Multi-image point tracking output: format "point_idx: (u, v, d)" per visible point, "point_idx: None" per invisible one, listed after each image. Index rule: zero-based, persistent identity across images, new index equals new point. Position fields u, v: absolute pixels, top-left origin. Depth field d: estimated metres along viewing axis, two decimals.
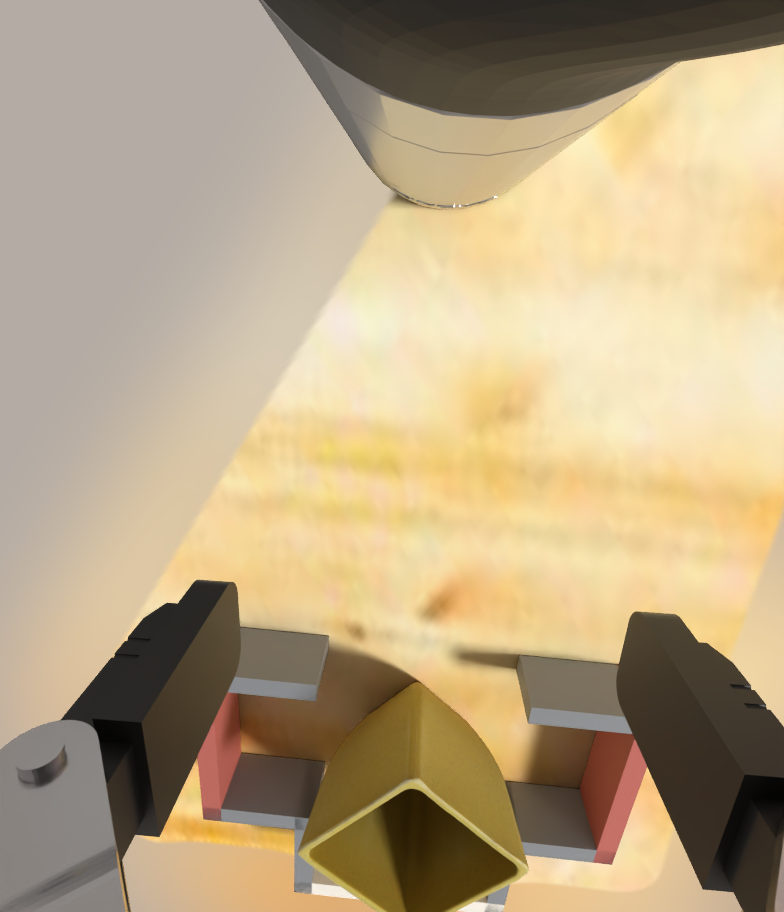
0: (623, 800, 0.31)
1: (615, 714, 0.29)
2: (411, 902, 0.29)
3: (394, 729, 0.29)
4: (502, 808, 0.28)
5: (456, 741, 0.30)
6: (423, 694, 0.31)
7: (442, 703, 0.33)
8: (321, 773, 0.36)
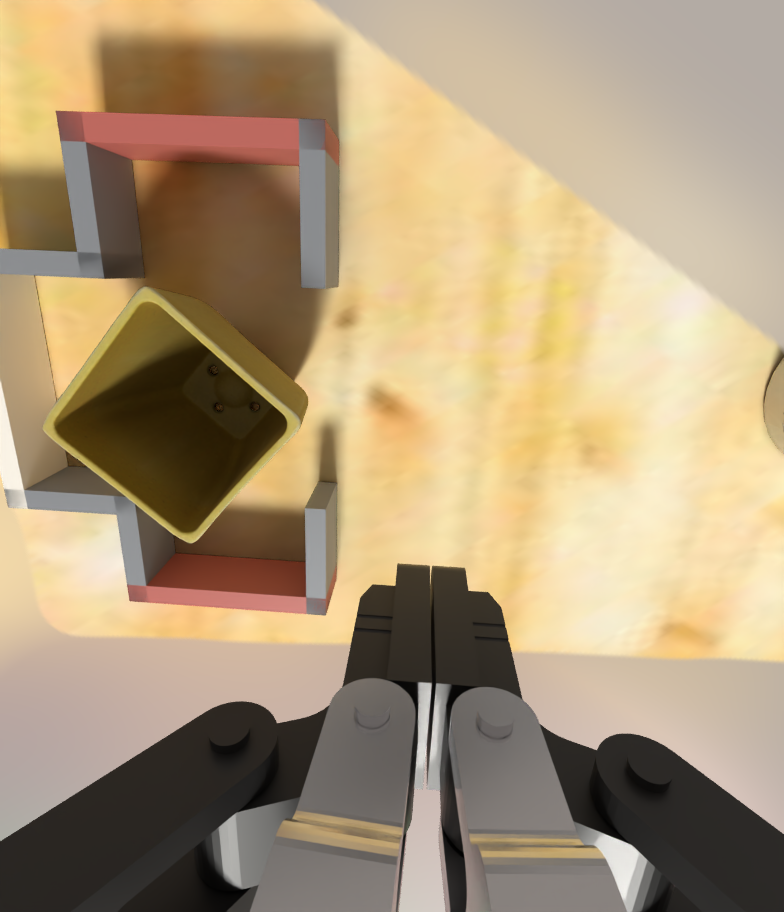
0: (221, 599, 0.32)
1: (325, 578, 0.31)
2: (71, 421, 0.25)
3: (287, 381, 0.26)
4: None
5: None
6: None
7: None
8: (135, 276, 0.29)
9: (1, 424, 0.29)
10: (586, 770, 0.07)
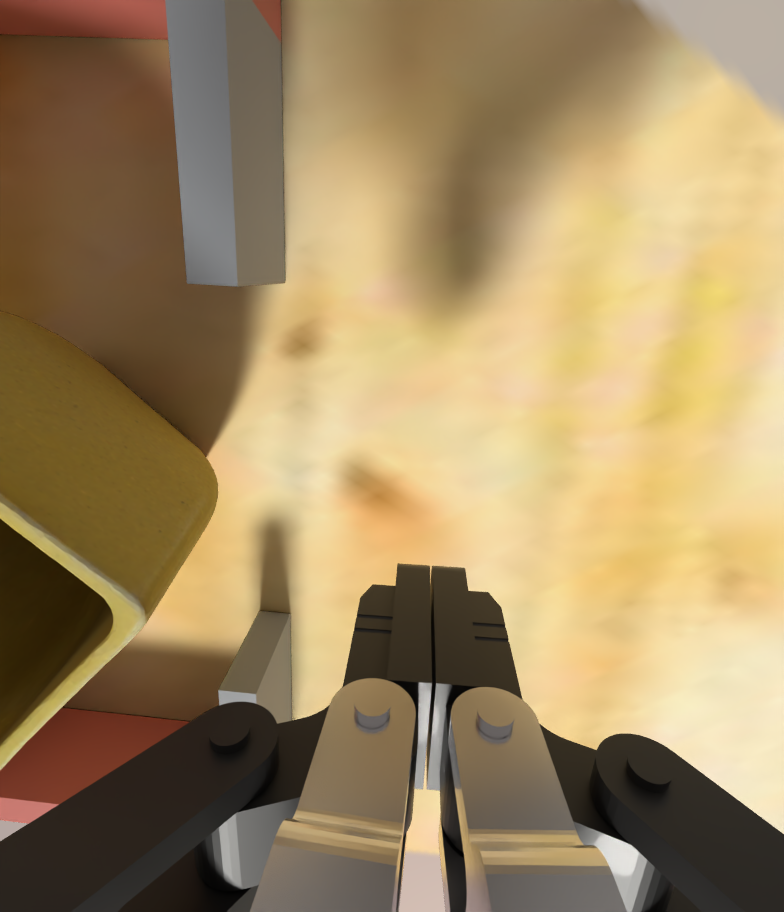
0: None
1: None
2: None
3: (163, 476, 0.13)
4: None
5: None
6: None
7: None
8: None
9: None
10: (586, 770, 0.07)
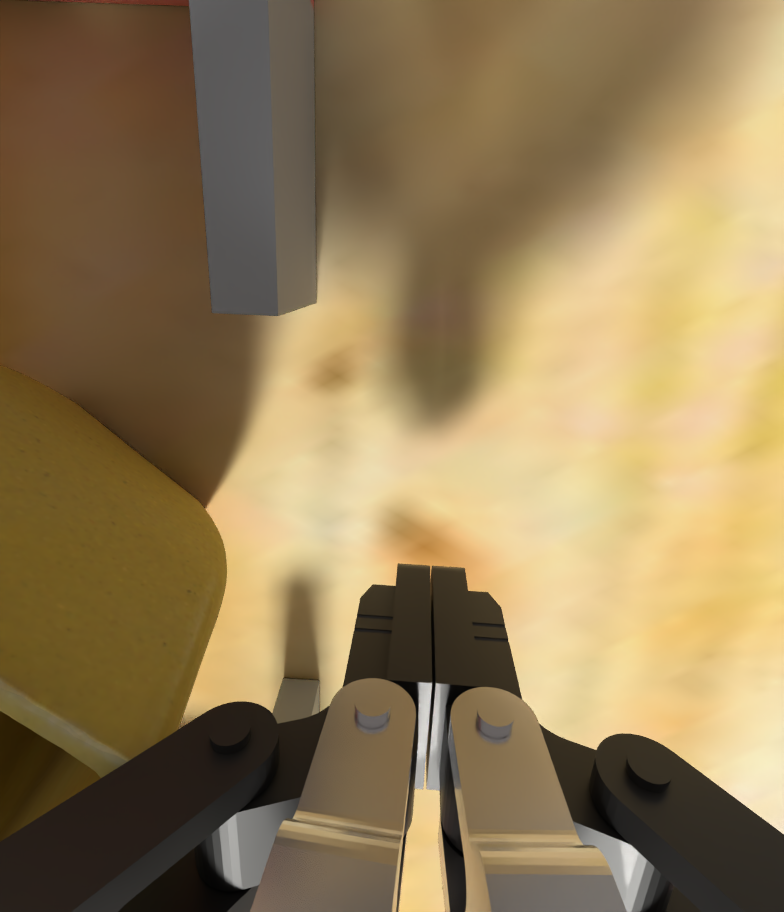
0: None
1: None
2: None
3: (163, 557, 0.10)
4: None
5: None
6: None
7: None
8: None
9: None
10: (586, 770, 0.07)
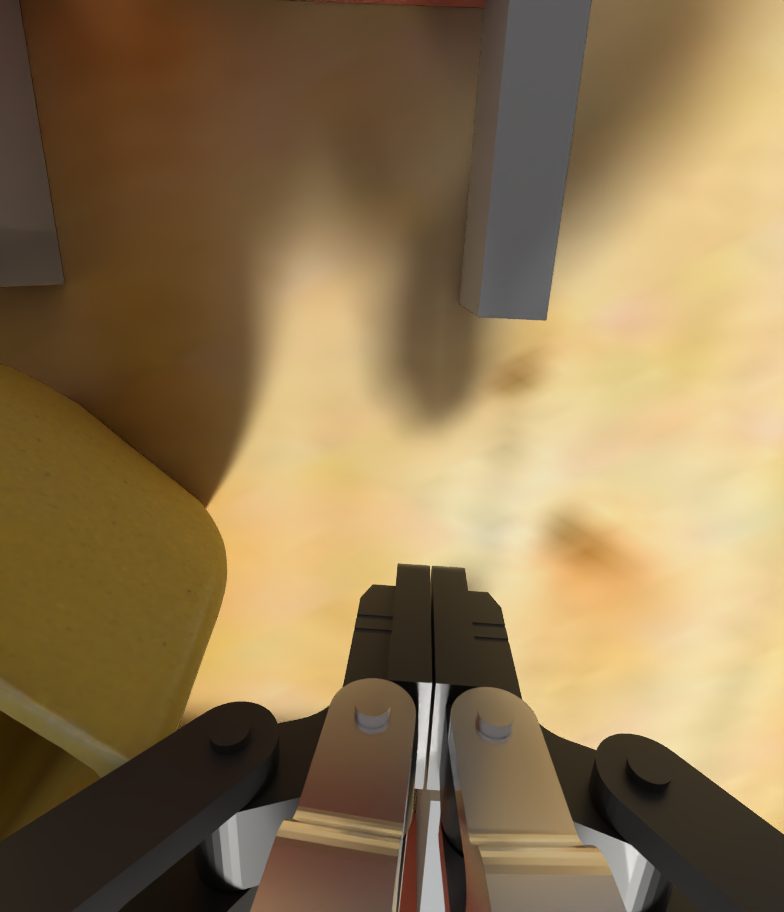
0: None
1: None
2: None
3: (163, 556, 0.10)
4: None
5: None
6: None
7: None
8: (39, 282, 0.12)
9: None
10: (585, 770, 0.07)
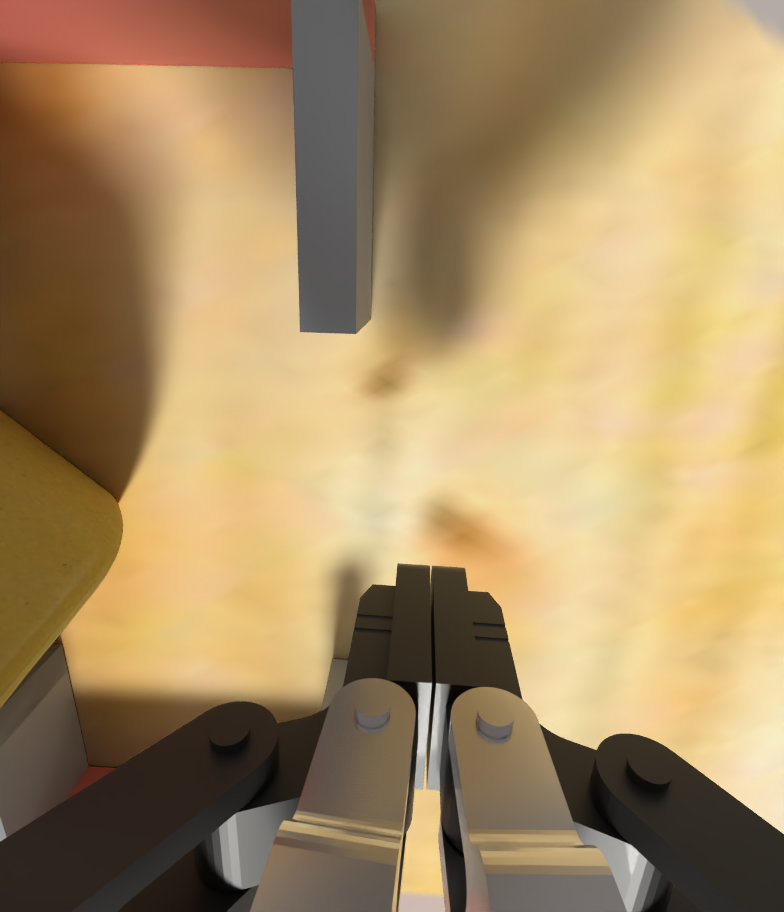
0: None
1: None
2: None
3: (45, 536, 0.12)
4: None
5: None
6: None
7: None
8: None
9: None
10: (586, 770, 0.07)
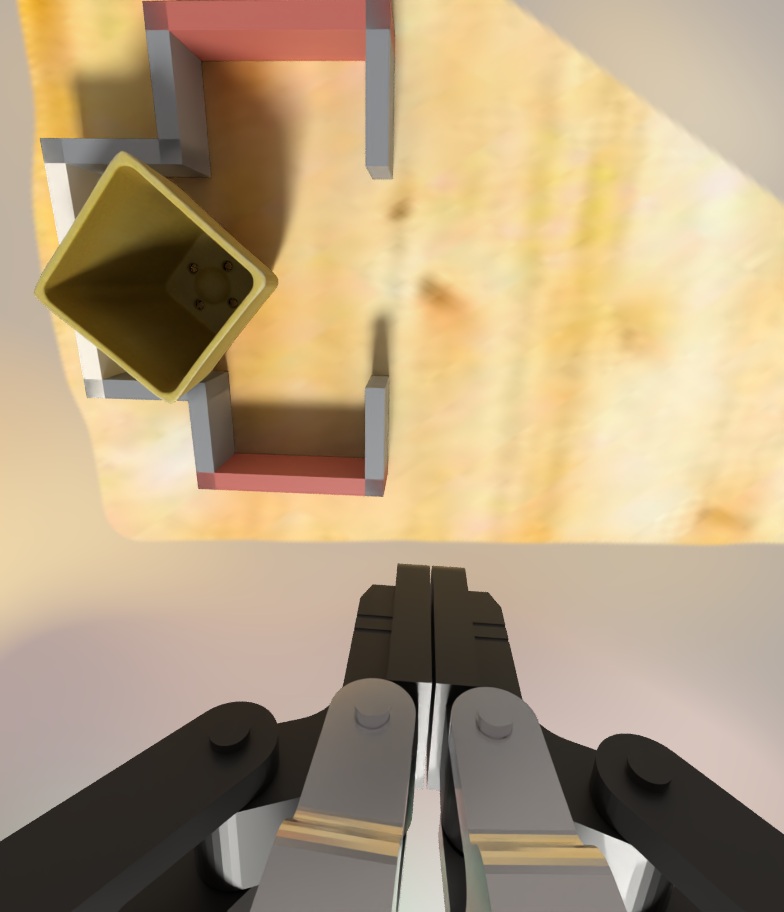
0: (284, 483, 0.34)
1: None
2: (60, 292, 0.27)
3: (257, 259, 0.29)
4: (202, 374, 0.29)
5: (246, 324, 0.31)
6: None
7: None
8: (204, 173, 0.31)
9: None
10: (586, 770, 0.07)
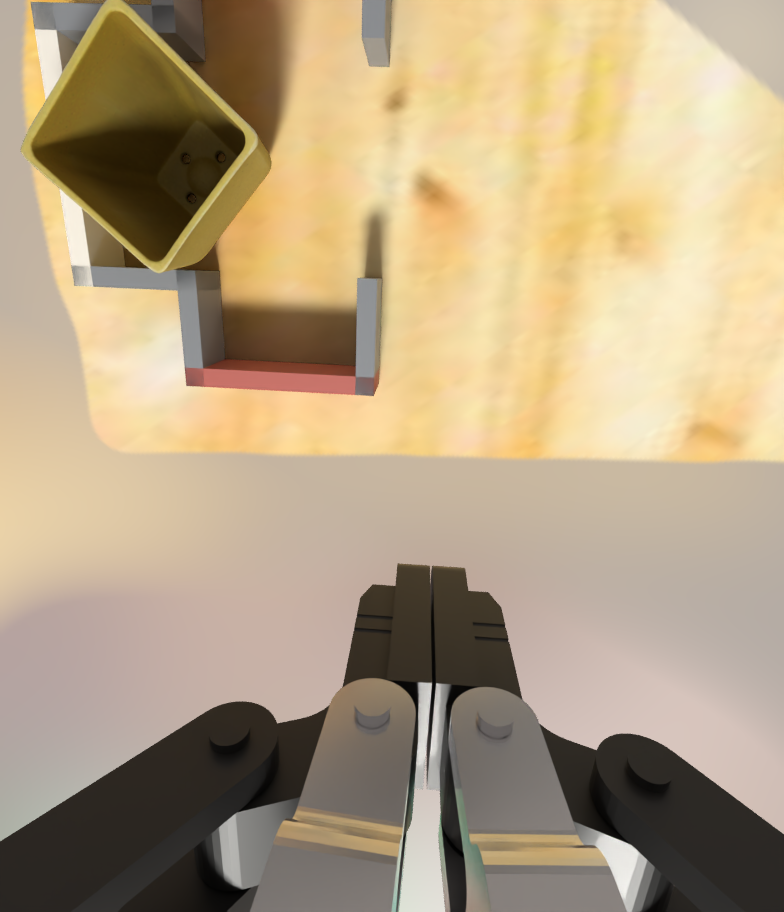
0: (274, 380, 0.34)
1: None
2: (48, 154, 0.27)
3: None
4: (192, 252, 0.29)
5: (238, 207, 0.30)
6: None
7: None
8: (199, 54, 0.31)
9: None
10: (586, 770, 0.07)
